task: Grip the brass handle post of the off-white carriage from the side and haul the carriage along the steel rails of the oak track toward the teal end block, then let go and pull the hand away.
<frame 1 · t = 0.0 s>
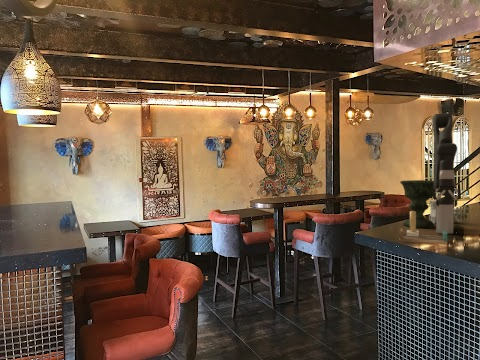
hand: (446, 206, 226), 17 cm above the table, tool pointing down, fingers open, 8 cm apart
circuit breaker: (441, 222, 277), on the table
carriage: (412, 223, 217), point 10 cm above the table, slide at -5.0 cm
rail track: (422, 241, 216), on the table
goblet: (418, 226, 263), on the table
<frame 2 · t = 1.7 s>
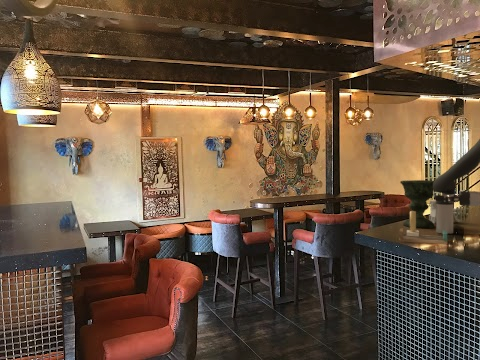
hand: (435, 198, 212), 24 cm above the table, tool horizontal, fingers open, 8 cm apart
nothing on the table moved.
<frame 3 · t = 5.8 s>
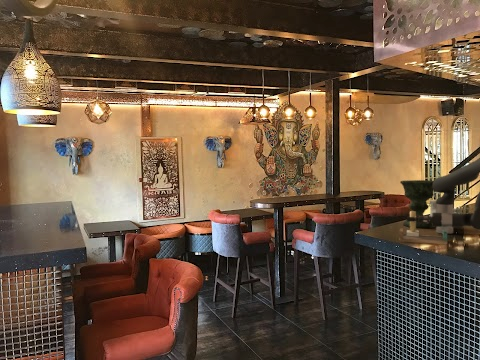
hand: (407, 218, 218), 12 cm above the table, tool horizontal, fingers closed on carriage, 3 cm apart
carriage: (412, 223, 217), point 10 cm above the table, slide at -5.0 cm, touching gripper
everything else where it was.
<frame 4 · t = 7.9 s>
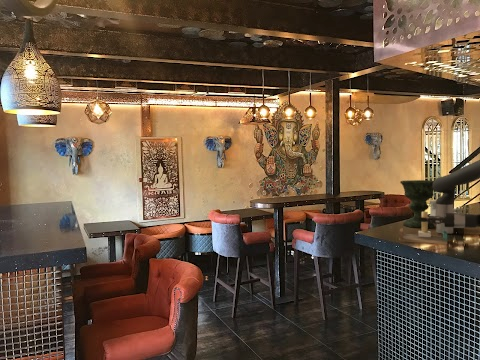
hand: (418, 219, 216), 12 cm above the table, tool horizontal, fingers closed on carriage, 3 cm apart
carriage: (424, 223, 215), point 10 cm above the table, slide at 0.9 cm, touching gripper
everything else where it was.
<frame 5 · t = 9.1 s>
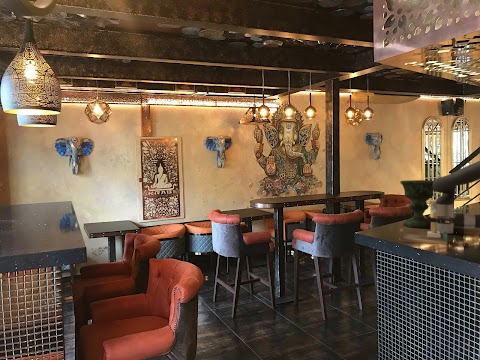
hand: (428, 219, 214), 12 cm above the table, tool horizontal, fingers closed on carriage, 3 cm apart
carriage: (433, 224, 213), point 10 cm above the table, slide at 5.4 cm, touching gripper
everything else where it was.
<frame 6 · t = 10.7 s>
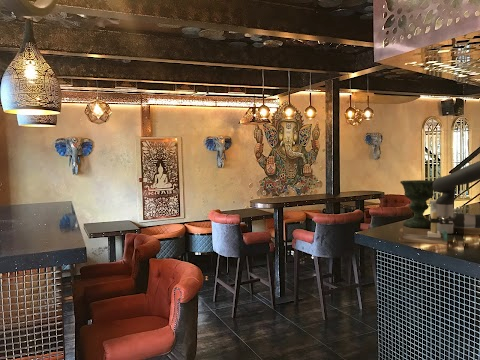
hand: (430, 219, 214), 12 cm above the table, tool horizontal, fingers open, 8 cm apart
carriage: (434, 224, 213), point 10 cm above the table, slide at 5.5 cm
everything else where it was.
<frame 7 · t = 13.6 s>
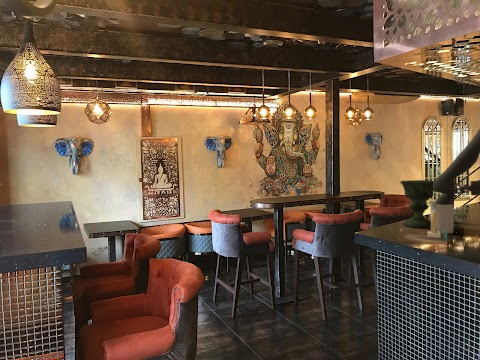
hand: (445, 189, 212), 28 cm above the table, tool horizontal, fingers open, 8 cm apart
nothing on the table moved.
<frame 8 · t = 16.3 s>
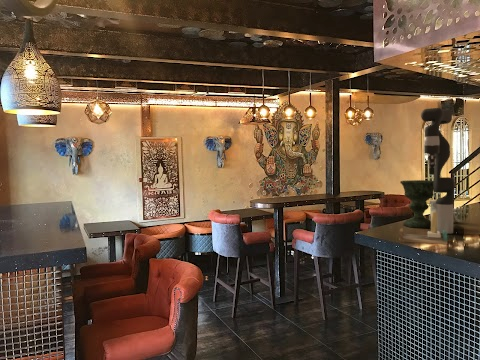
hand: (431, 174, 219), 36 cm above the table, tool pointing down, fingers open, 8 cm apart
nothing on the table moved.
at the end: carriage slide at 5.5 cm; the gripper is holding nothing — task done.
